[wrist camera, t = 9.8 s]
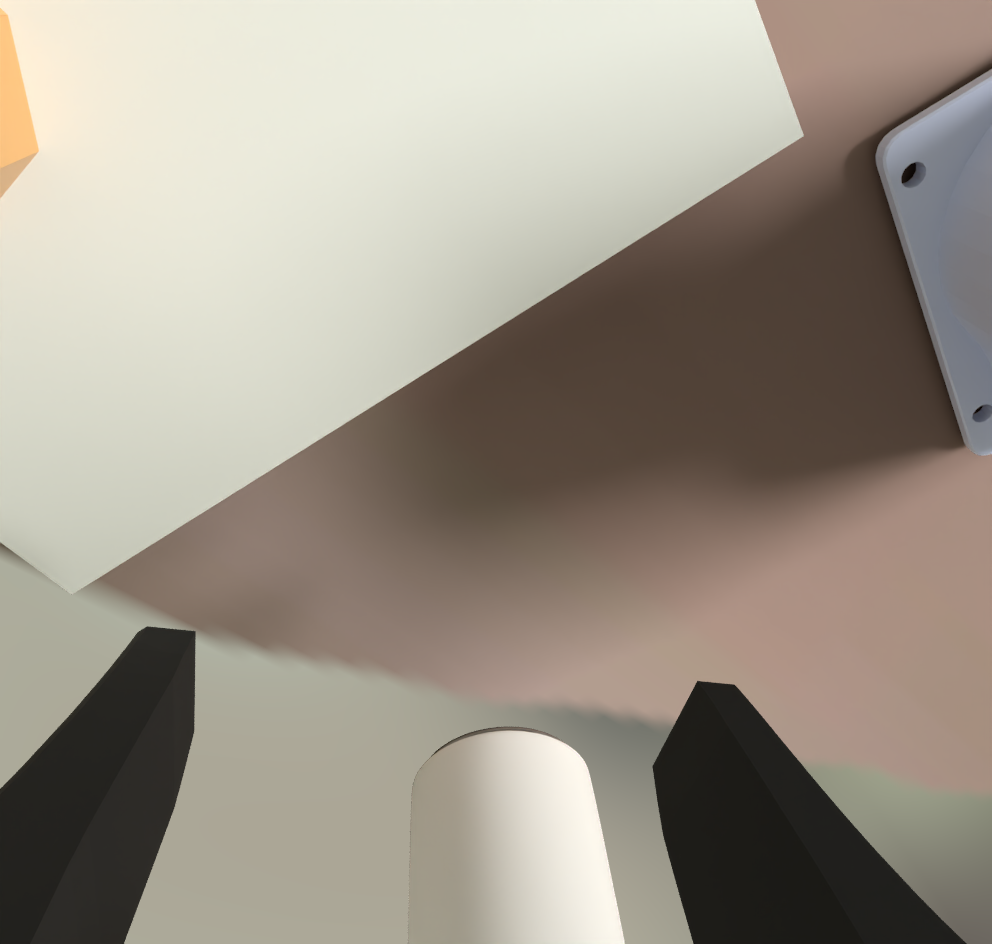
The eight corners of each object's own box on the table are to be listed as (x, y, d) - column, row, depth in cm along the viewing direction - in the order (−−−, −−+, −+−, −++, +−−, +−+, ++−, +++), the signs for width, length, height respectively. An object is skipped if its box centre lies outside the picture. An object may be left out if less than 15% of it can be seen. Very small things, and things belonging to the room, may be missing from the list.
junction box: (743, 110, 16) (893, 172, 11) (116, 517, 20) (11, 698, 15) (290, -1023, 9) (97, -2437, 4) (-525, -16, 13) (-1131, -15, 8)
